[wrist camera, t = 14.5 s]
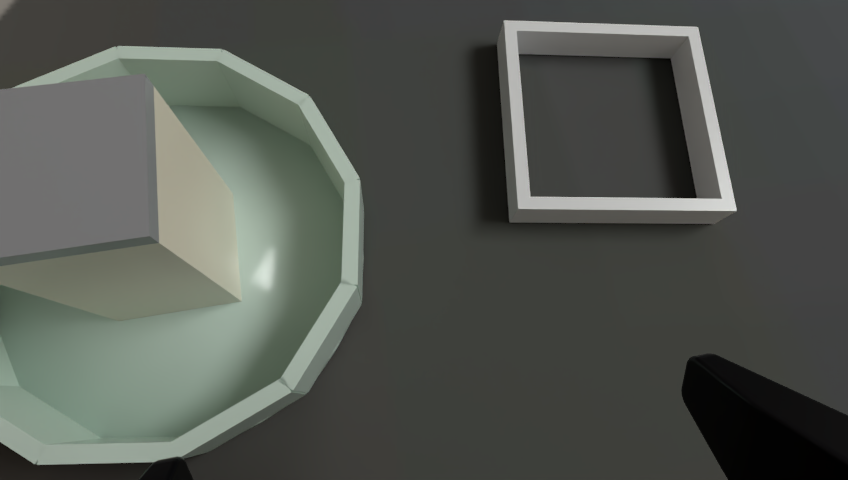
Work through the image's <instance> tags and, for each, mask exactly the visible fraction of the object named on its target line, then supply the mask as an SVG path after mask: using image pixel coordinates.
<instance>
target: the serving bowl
mask: <svg viewBox="0 0 848 480" xmlns="http://www.w3.org/2000/svg"><path fill="white" fill-rule="evenodd" d="M137 74H145V75H146V76H147V77H148V79H149V80H150V82H151V83H152V84H153V86H154V87H155V88H156V90H157V91H158V92H159V94H160V95H161V97H162V98H163V99H164V101H165V102H166V103H167V105H168V106H169V107H170V109H171V110H172V111H173V113H174V114H175V116H176V117H177V118H178V120H179V121H180V122H181V124H182V125H183V126H184V128H185V129H186V131H187V132H188V133H189V135H190V136H191V137H192V139H193V140H194V141H195V143H196V144H197V145H198V147H199V148H200V150H201V151H202V152H203V154H204V155H205V156H206V158H207V159H208V160H209V162H210V163H211V165H212V166H213V167H214V169H215V170H216V171H217V173H218V174H219V175H220V177H221V178H222V179H223V181H224V182H225V184H226V185H227V186H228V188H229V189H230V190H231V192H232V193H233V199H234V211H235V223H236V236H237V248H238V260H239V273H240V285H241V298H242V301H240V302H234V303H228V304H222V305H216V306H210V307H203V308H197V309H191V310H185V311H179V312H172V313H166V314H160V315H154V316H148V317H142V318H135V319H129V320H123V321H116V320H113V319H110V318H107V317H103V316H100V315H97V314H94V313H91V312H87V311H84V310H81V309H78V308H74V307H71V306H68V305H65V304H61V303H58V302H55V301H52V300H49V299H45V298H42V297H39V296H36V295H32V294H29V293H26V292H23V291H20V290H16V289H13V288H10V287H7V286H3V285H0V442H1V443H2V444H4V445H6V446H7V447H9V448H10V449H12V450H13V451H15V452H16V453H18V454H19V455H21V456H23V457H24V458H26V459H27V460H29V461H30V462H32V463H33V464H37V465H55V464H97V463H140V462H155V461H157V460H161V459H166V458H171V457H176V456H178V457H182V458H183V459H184V458H188V457H192V456H195V455H199V454H203V453H207V452H210V451H211V450H213V449H215V448H217V447H218V446H220V445H222V444H223V443H225V442H227V441H228V440H230V439H232V438H233V437H235V436H237V435H238V434H241V433H243V432H245V431H246V430H248V429H250V428H252V427H254V426H256V425H258V424H260V423H262V422H264V421H265V420H267V419H268V418H270V417H271V416H273V415H274V414H276V413H277V412H279V411H280V410H282V409H283V408H285V407H286V406H287V405H289V404H291V403H293V402H294V401H296V400H298V399H299V398H301V397H303V396H304V395H306V392H307V393H308V392H309V390H310V389H311V387H312V385H313V384H314V382H315V380H316V379H317V377H318V375H319V374H320V373H321V372H322V370H323V369H324V368H325V366H326V365H327V363H328V362H329V361H330V359H331V358H332V356H333V355H334V353H335V352H336V350H337V349H338V347H339V345H340V343H341V341H342V339H343V337H344V335H345V334H346V332H347V330H348V328H349V325H350V323H351V321H352V319H353V318H354V316H355V314H356V313H357V311H358V309H359V308H360V306H361V302H362V284H363V265H364V253H363V235H364V208H363V200H362V192H361V184H360V178H359V176H358V175H357V173H356V171H355V170H354V168H353V166H352V165H351V163H350V161H349V160H348V158H347V156H346V155H345V153H344V152H343V150H342V148H341V147H340V145H339V143H338V142H337V140H336V138H335V137H334V135H333V133H332V132H331V130H330V128H329V127H328V125H327V123H326V122H325V120H324V118H323V117H322V115H321V114H320V112H319V110H318V109H317V107H316V105H315V104H314V102H313V100H312V99H311V97H309V95H308V94H306V93H304V92H302V91H300V90H298V89H296V88H295V87H293V86H291V85H289V84H287V83H285V82H283V81H281V80H280V79H278V78H276V77H274V76H272V75H270V74H268V73H267V72H265V71H263V70H261V69H259V68H257V67H255V66H253V65H252V64H250V63H248V62H246V61H244V60H242V59H240V58H238V57H237V56H235V55H233V54H231V53H229V52H227V51H225V50H223V51H222V49H205V48H170V47H136V46H118V47H117V48H116V46H115V47H113V48H110V49H108V50H105V51H103V52H100V53H98V54H95V55H93V56H90V57H88V58H85V59H83V60H80V61H78V62H75V63H73V64H70V65H68V66H65V67H63V68H61V69H58V70H56V71H53V72H51V73H48V74H46V75H43V76H41V77H38V78H36V79H33V80H31V81H28V82H26V83H23V84H21V85H18V86H16V87H13V88H19V87H28V86H37V85H46V84H55V83H64V82H73V81H82V80H92V79H101V78H110V77H119V76H128V75H137Z"/></svg>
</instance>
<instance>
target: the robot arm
mask: <svg viewBox="0 0 848 480" xmlns="http://www.w3.org/2000/svg"><path fill="white" fill-rule="evenodd" d="M682 397H683V400H684V403H685V405H686V406H687V408H688V410H689V412H690V414H691V415H692V417H693V419H694V421H695V422H696V424H697V426H698V428H699V430H700V431H701V433H702V435H703V437H704V438H705V440H706V442H707V444H708V446H709V447H710V449H711V451H712V453H713V454H714V456H715V458H716V460H717V462H718V463H719V465H720V467H721V469H722V470H723V472H724V474H725V475H726V477H727V479H728V480H848V415H846V414H843V413H841V412H839V411H837V410H835V409H833V408H830V407H828V406H826V405H824V404H822V403H820V402H817V401H815V400H813V399H811V398H809V397H807V396H804V395H802V394H800V393H798V392H796V391H793V390H791V389H789V388H787V387H785V386H783V385H780V384H778V383H776V382H774V381H772V380H770V379H767V378H765V377H763V376H761V375H759V374H757V373H754V372H752V371H750V370H748V369H746V368H744V367H741V366H739V365H737V364H735V363H733V362H731V361H728V360H726V359H724V358H722V357H720V356H718V355H715V354H703V355H698V356H693V357H691V358H690V359H689V360H688V361H687V365H686V370H685V375H684V380H683V385H682ZM138 480H193V478H192V476H191V473H190V471H189V469H188V466H187V464H186V462H185V460H184V459H183V458H182V457H178V456H176V457H171V458H166V459H161V460H157V461H155V462H154V463H153V464H151V465H150V467H149V468H148V469H147V470H146V471H145V472H144V474H143V475H142V476H141V477H140V478H139V479H138Z"/></svg>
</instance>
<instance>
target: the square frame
mask: <svg viewBox="0 0 848 480" xmlns="http://www.w3.org/2000/svg"><path fill="white" fill-rule="evenodd" d="M497 53H498V67H499V82H500V96H501V111H502V125H503V139H504V154H505V168H506V183H507V197H508V211H509V222H510V223H651V224H714V223H716V222H718V221H720V220H721V219H723V218H725V217H727V216H729V215H730V214H732V213H734V212H736V211H737V210H736V205H735V200H734V196H733V191H732V186H731V181H730V177H729V172H728V167H727V162H726V158H725V153H724V148H723V143H722V139H721V134H720V129H719V125H718V120H717V115H716V110H715V106H714V101H713V96H712V91H711V87H710V82H709V77H708V72H707V68H706V63H705V58H704V53H703V49H702V44H701V39H700V34H699V30H698V27H683V26H654V25H624V24H595V23H565V22H535V21H506V20H504V22H503V25H502V29H501V32H500V35H499V39H498V42H497ZM518 54H536V55H570V56H604V57H638V58H671V63H672V68H673V74H674V79H675V84H676V90H677V95H678V100H679V106H680V111H681V116H682V122H683V127H684V132H685V138H686V143H687V148H688V154H689V159H690V164H691V170H692V175H693V180H694V186H695V191H696V196H697V198H605V197H530V186H529V174H528V162H527V150H526V138H525V126H524V114H523V102H522V90H521V78H520V66H519V55H518Z"/></svg>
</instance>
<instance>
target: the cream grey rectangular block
mask: <svg viewBox="0 0 848 480" xmlns="http://www.w3.org/2000/svg"><path fill="white" fill-rule="evenodd" d="M0 285H3V286H7V287H10V288H13V289H16V290H20V291H23V292H26V293H29V294H32V295H36V296H39V297H42V298H45V299H49V300H52V301H55V302H58V303H61V304H65V305H68V306H71V307H74V308H78V309H81V310H84V311H87V312H91V313H94V314H97V315H100V316H103V317H107V318H110V319H113V320H116V321H123V320H129V319H135V318H142V317H148V316H154V315H160V314H166V313H172V312H179V311H185V310H191V309H197V308H203V307H210V306H216V305H222V304H228V303H234V302H240V301H242V298H241V285H240V273H239V260H238V248H237V236H236V223H235V211H234V199H233V193H232V192H231V190H230V189H229V188H228V186H227V185H226V184H225V182H224V181H223V179H222V178H221V177H220V175H219V174H218V173H217V171H216V170H215V169H214V167H213V166H212V165H211V163H210V162H209V160H208V159H207V158H206V156H205V155H204V154H203V152H202V151H201V150H200V148H199V147H198V145H197V144H196V143H195V141H194V140H193V139H192V137H191V136H190V135H189V133H188V132H187V131H186V129H185V128H184V126H183V125H182V124H181V122H180V121H179V120H178V118H177V117H176V116H175V114H174V113H173V111H172V110H171V109H170V107H169V106H168V105H167V103H166V102H165V101H164V99H163V98H162V97H161V95H160V94H159V92H158V91H157V90H156V88H155V87H154V86H153V84H152V83H151V82H150V80H149V79H148V77H147V76H146V75H145V74H137V75H128V76H119V77H110V78H101V79H92V80H82V81H73V82H64V83H55V84H46V85H37V86H28V87H19V88H10V89H0Z"/></svg>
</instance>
